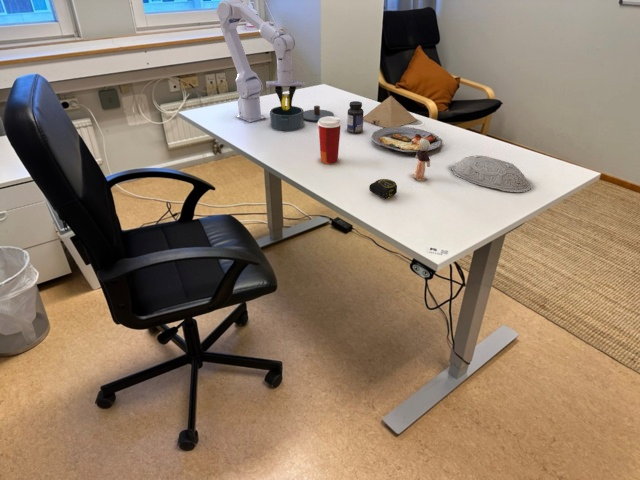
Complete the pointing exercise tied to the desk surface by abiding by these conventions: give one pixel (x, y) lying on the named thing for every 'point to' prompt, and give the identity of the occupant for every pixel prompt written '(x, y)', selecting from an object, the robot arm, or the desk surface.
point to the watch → (284, 101)
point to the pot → (287, 118)
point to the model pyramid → (389, 114)
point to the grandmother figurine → (422, 160)
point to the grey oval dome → (491, 173)
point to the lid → (316, 114)
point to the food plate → (405, 138)
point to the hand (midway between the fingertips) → (286, 106)
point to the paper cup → (329, 139)
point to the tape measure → (384, 188)
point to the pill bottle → (355, 117)
